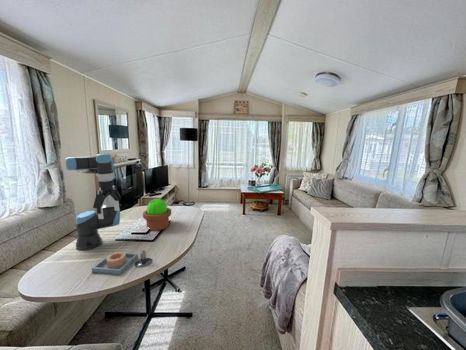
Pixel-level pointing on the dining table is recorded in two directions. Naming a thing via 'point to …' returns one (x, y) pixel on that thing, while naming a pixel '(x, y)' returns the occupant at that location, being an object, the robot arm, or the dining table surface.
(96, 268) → the tray
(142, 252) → the dark grey rounded piece
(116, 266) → the tan round bowl
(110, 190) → the robot arm
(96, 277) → the dining table surface
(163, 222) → the potted cactus
